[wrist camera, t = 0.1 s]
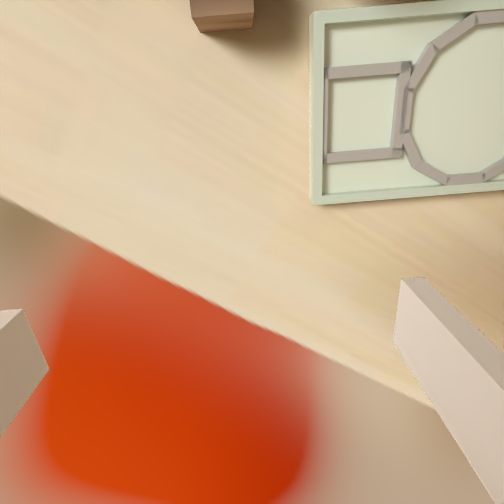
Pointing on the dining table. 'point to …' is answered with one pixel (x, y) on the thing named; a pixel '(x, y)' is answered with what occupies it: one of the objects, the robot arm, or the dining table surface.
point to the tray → (406, 100)
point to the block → (222, 14)
